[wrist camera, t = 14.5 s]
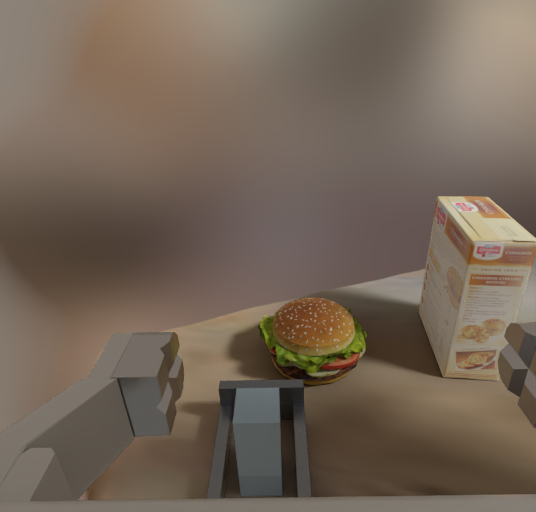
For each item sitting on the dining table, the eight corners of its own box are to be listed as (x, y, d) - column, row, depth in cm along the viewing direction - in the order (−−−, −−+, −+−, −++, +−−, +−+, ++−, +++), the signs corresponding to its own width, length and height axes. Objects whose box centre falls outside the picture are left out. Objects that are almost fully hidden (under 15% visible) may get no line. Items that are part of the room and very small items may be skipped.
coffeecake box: (500, 382, 50) (542, 241, 42) (441, 378, 51) (470, 240, 42) (463, 313, 64) (489, 195, 55) (417, 311, 64) (435, 194, 56)
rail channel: (303, 411, 47) (303, 379, 45) (311, 522, 36) (312, 487, 34) (223, 412, 48) (220, 380, 45) (208, 523, 37) (202, 488, 34)
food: (337, 317, 64) (339, 274, 60) (380, 379, 52) (385, 329, 48) (252, 333, 61) (249, 288, 58) (277, 402, 49) (275, 351, 45)
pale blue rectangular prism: (281, 458, 42) (279, 387, 38) (282, 495, 39) (279, 422, 34) (243, 458, 42) (236, 388, 38) (240, 496, 39) (232, 423, 34)
